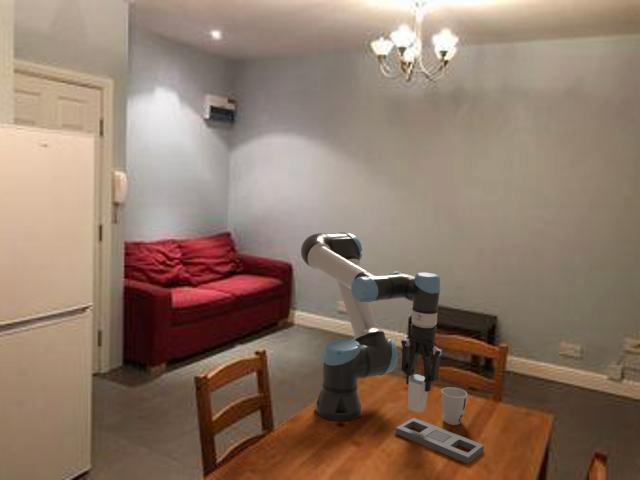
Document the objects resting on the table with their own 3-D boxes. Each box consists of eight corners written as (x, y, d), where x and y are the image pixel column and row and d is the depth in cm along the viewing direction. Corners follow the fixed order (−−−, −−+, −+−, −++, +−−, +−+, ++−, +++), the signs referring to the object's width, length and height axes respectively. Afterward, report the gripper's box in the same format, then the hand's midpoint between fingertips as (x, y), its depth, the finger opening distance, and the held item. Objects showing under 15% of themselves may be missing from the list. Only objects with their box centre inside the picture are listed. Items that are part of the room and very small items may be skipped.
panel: (395, 433, 169) (396, 427, 169) (412, 423, 176) (413, 417, 176) (467, 464, 153) (468, 457, 153) (483, 451, 161) (483, 445, 160)
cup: (465, 428, 175) (468, 398, 173) (439, 425, 176) (441, 395, 175) (464, 417, 182) (466, 389, 181) (439, 414, 184) (441, 385, 183)
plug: (407, 408, 169) (409, 377, 168) (414, 405, 172) (416, 374, 171) (418, 413, 167) (421, 381, 165) (425, 409, 170) (428, 377, 168)
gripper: (393, 320, 168) (387, 392, 172) (442, 333, 157) (435, 411, 160) (406, 315, 174) (400, 386, 177) (455, 328, 163) (448, 403, 166)
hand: (417, 397), depth 169 cm, fingers closed on plug, 4 cm apart
